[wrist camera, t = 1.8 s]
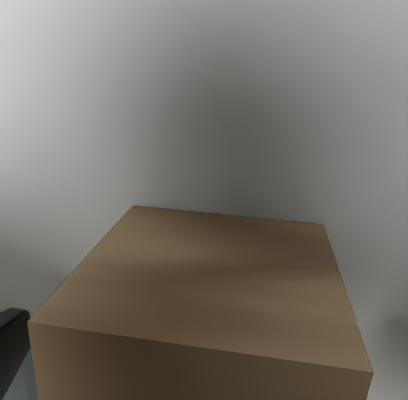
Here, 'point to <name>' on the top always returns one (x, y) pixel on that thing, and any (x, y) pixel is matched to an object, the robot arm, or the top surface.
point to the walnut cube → (201, 315)
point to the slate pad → (23, 382)
